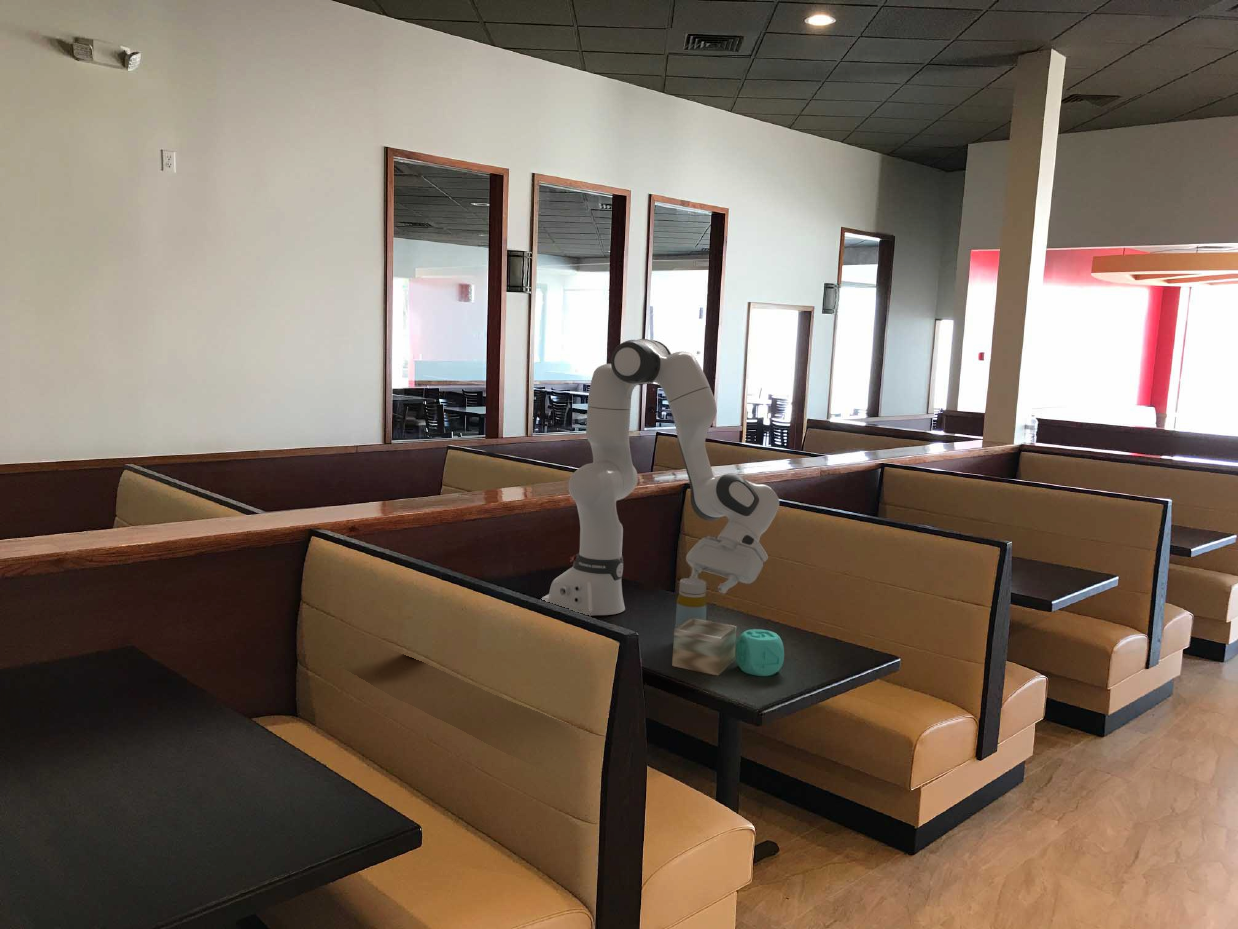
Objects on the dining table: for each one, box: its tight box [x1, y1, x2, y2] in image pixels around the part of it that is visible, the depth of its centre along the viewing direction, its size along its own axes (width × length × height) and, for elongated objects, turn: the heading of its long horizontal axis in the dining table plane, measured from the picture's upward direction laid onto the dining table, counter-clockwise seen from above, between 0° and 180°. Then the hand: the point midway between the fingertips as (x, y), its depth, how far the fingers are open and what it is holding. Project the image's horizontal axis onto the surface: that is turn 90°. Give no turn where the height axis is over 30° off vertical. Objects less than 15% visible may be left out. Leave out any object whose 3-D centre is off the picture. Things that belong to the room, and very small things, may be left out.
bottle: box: [674, 577, 708, 629], centre depth 217 cm, size 7×7×15 cm
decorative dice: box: [735, 628, 785, 677], centre depth 202 cm, size 8×8×8 cm
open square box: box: [671, 618, 738, 676], centre depth 204 cm, size 11×11×8 cm
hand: (705, 587), depth 220 cm, fingers open, 8 cm apart
